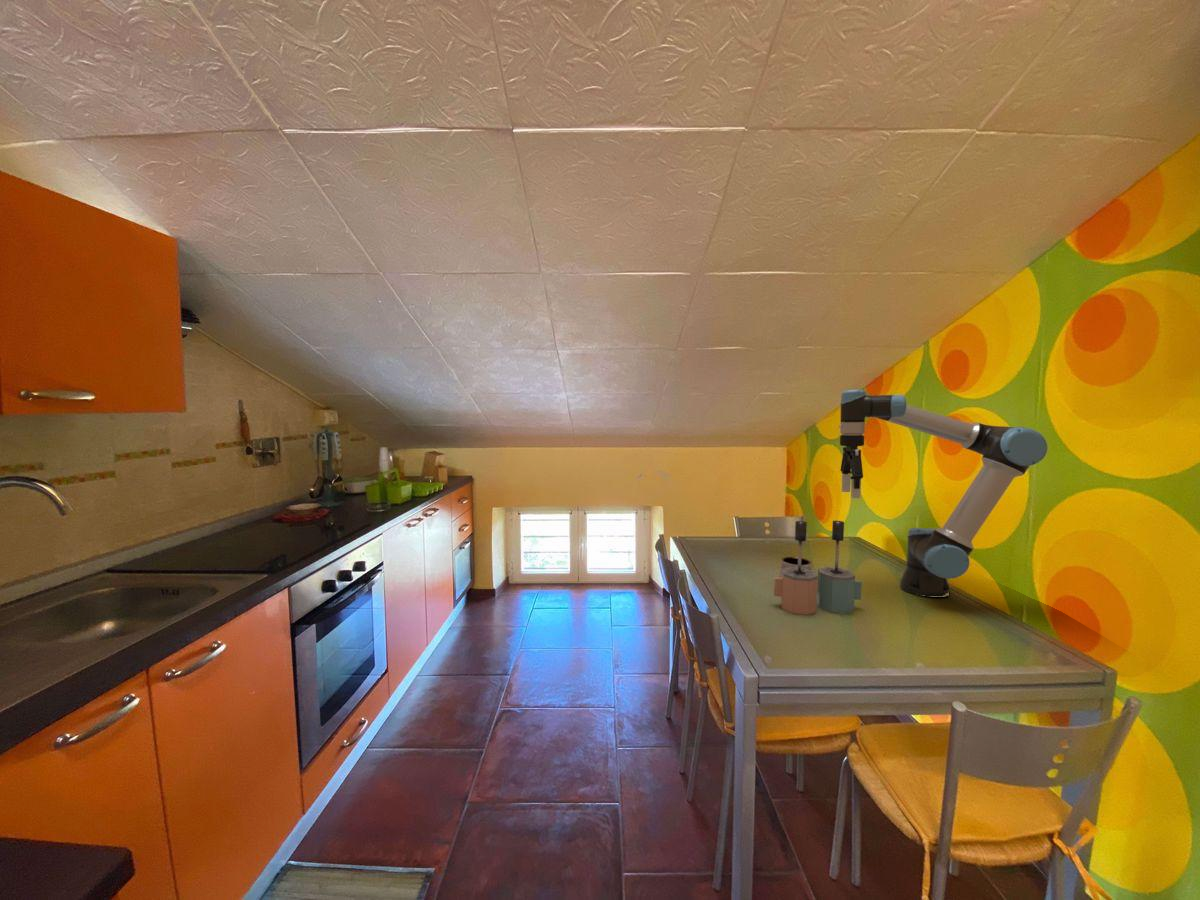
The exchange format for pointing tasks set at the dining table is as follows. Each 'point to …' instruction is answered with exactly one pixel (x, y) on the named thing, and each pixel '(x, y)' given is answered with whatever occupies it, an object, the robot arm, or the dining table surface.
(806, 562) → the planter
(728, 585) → the dining table surface
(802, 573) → the pot terracotta
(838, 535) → the dark brown cylinder-topped rod
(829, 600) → the pot teal
